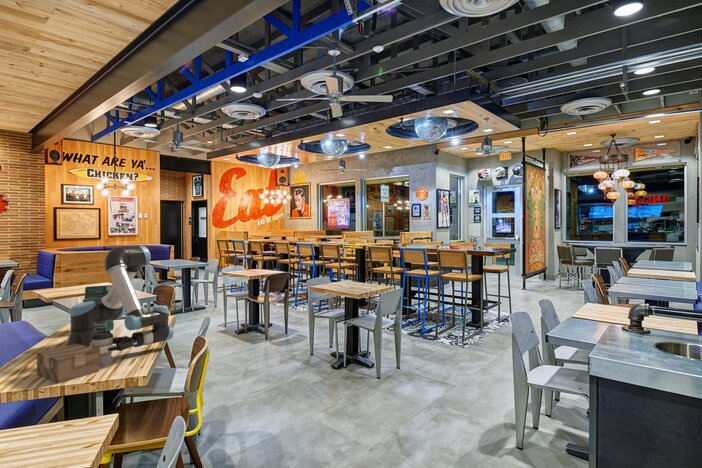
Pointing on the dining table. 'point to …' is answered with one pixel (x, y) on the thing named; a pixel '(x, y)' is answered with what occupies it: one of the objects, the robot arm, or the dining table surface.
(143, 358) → the dining table surface
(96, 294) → the donation box
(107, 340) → the coffee cup
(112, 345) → the robot arm
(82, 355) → the walnut box
